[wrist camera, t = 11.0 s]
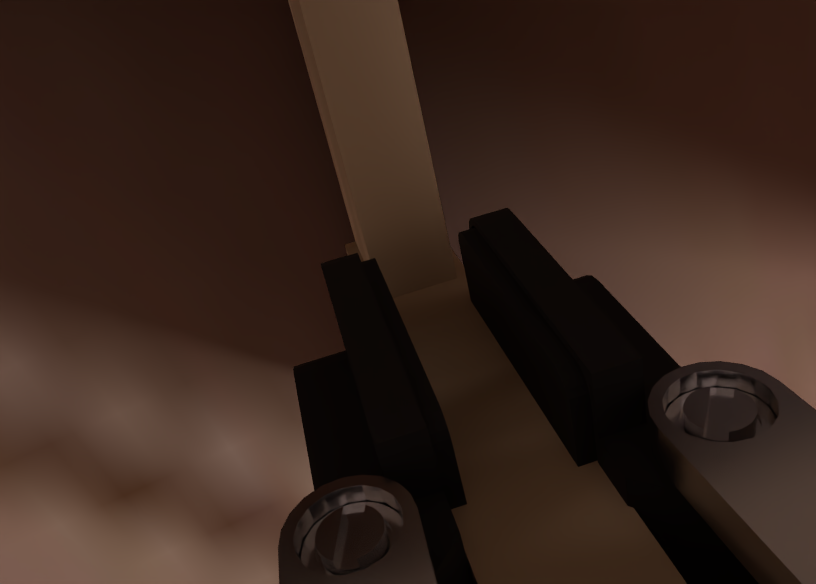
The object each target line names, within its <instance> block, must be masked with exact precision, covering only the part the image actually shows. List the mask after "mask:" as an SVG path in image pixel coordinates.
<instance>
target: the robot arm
mask: <svg viewBox="0 0 816 584" xmlns="http://www.w3.org/2000/svg"><path fill="white" fill-rule="evenodd" d="M458 236H459V244H460V249H461V254H462V259H463V264H464V269H465V274H466V279H467V284H468V289H469V294H470V299H471V302H472V303H473V305H474V306H475V308H476V309H477V311H478V313H479V314H480V316H481V317H482V319H483V320H484V322H485V323H486V325H487V327H488V328H489V330H490V331H491V333H492V334H493V336H494V337H495V339H496V340H497V342H498V344H499V345H500V347H501V348H502V350H503V351H504V353H505V354H506V356H507V358H508V359H509V361H510V362H511V364H512V365H513V367H514V368H515V370H516V372H517V373H518V375H519V376H520V378H521V379H522V381H523V382H524V384H525V385H526V387H527V389H528V390H529V392H530V393H531V395H532V396H533V398H534V399H535V401H536V403H537V404H538V406H539V407H540V409H541V410H542V412H543V413H544V415H545V416H546V418H547V420H548V421H549V423H550V424H551V426H552V427H553V429H554V430H555V432H556V434H557V435H558V437H559V438H560V440H561V441H562V443H563V444H564V446H565V448H566V449H567V451H568V452H569V454H570V455H571V457H572V458H573V460H574V461H575V463H576V465H577V466H578V467H580V466H583V465H586V464H589V463H592V462H595V461H598V463H599V465H600V466H601V468H602V469H603V471H604V472H605V474H606V475H607V477H608V478H609V480H610V481H611V482H612V484H613V485H614V487H615V488H616V490H617V491H618V493H619V494H620V496H621V497H622V499H623V500H624V501H625V503H626V504H627V506H629V507H633V508H634V509H635V511H636V512H637V513H638V515H639V516H640V518H641V519H642V520H643V522H644V523H645V525H646V526H647V528H648V529H649V530H650V532H651V533H652V535H653V536H654V538H655V539H656V540H657V542H658V543H659V545H660V546H661V548H662V549H663V550H664V552H665V553H666V555H667V556H668V557H669V559H670V560H671V562H672V563H673V565H674V566H675V567H676V569H677V570H678V572H679V573H680V575H681V576H682V577H683V579H684V580H685V582H686V583H687V584H816V410H815V409H814V408H813V407H811V406H810V405H809V404H808V403H806V402H805V401H804V400H803V399H801V398H800V397H799V396H798V395H796V394H795V393H794V392H793V391H791V390H790V389H789V388H788V387H786V386H785V385H784V384H783V383H781V382H780V381H779V380H777V379H775V378H774V377H772V376H770V375H769V374H767V373H765V372H764V371H762V370H759V369H756V368H753V367H750V366H747V365H743V364H738V363H730V362H722V361H716V362H699V363H695V364H691V365H687V366H683V367H680V366H679V365H678V364H677V363H676V362H675V361H674V360H673V359H672V358H671V356H670V355H669V354H668V353H667V352H666V351H665V350H664V349H663V348H662V347H661V346H660V345H659V344H658V343H657V342H656V341H655V340H654V339H653V338H652V337H651V335H650V334H649V333H648V332H647V331H646V330H645V329H644V328H643V327H642V326H641V325H640V324H639V323H638V322H637V321H636V320H635V319H634V318H633V317H632V316H631V315H630V313H629V312H628V311H627V310H626V309H625V308H624V307H623V306H622V305H621V304H620V303H619V302H618V301H617V300H616V299H615V298H614V297H613V296H612V295H611V294H610V293H609V291H608V290H607V289H606V288H605V287H604V286H603V285H602V284H601V283H600V282H599V281H598V280H597V279H595V278H594V277H593V276H589V275H586V276H583V277H580V278H577V279H574V280H572V278H571V277H570V276H569V275H568V274H567V273H566V272H565V271H564V269H563V268H562V267H561V266H560V265H559V264H558V263H557V262H556V261H555V259H554V258H553V257H552V256H551V255H550V254H549V253H548V252H547V250H546V249H545V248H544V247H543V246H542V245H541V244H540V243H539V242H538V240H537V239H536V238H535V237H534V236H533V235H532V234H531V233H530V231H529V230H528V229H527V228H526V227H525V226H524V225H523V224H522V223H521V221H520V220H519V219H518V218H517V217H516V216H515V215H514V214H513V212H512V211H511V210H510V209H508V208H504V209H501V210H498V211H494V212H491V213H488V214H484V215H481V216H478V217H474V218H471V219H470V221H469V230H466V231H462V232H459V235H458ZM321 267H322V270H323V274H324V277H325V280H326V284H327V287H328V291H329V294H330V298H331V301H332V304H333V308H334V311H335V315H336V318H337V321H338V325H339V328H340V332H341V335H342V338H343V342H344V345H345V349H346V351H343V352H339V353H336V354H333V355H330V356H326V357H323V358H320V359H317V360H314V361H310V362H307V363H304V364H301V365H298V366H294V368H293V370H294V378H295V383H296V389H297V395H298V400H299V406H300V412H301V417H302V423H303V429H304V434H305V440H306V446H307V451H308V457H309V463H310V468H311V474H312V480H313V485H314V491H313V492H312V493H310V494H309V495H307V496H306V497H304V498H303V499H302V500H301V501H300V503H299V504H298V505H297V506H296V507H295V508H294V509H293V510H292V511H291V512H290V514H289V516H288V517H287V519H286V521H285V523H284V525H283V527H282V529H281V533H280V539H279V545H278V559H279V584H473V581H472V577H471V573H470V570H469V566H468V562H467V558H466V554H465V550H464V546H463V542H462V538H461V534H460V531H459V529H458V526H457V524H456V521H455V518H454V516H453V513H452V511H451V509H454V508H457V507H460V506H463V505H466V504H467V501H466V497H465V493H464V489H463V485H462V481H461V477H460V473H459V469H458V464H457V460H456V456H455V452H454V448H453V444H452V440H451V437H450V433H449V430H448V427H447V424H446V421H445V418H444V415H443V412H442V410H441V407H440V405H439V402H438V400H437V398H436V396H435V393H434V391H433V389H432V386H431V384H430V382H429V380H428V377H427V375H426V373H425V370H424V368H423V366H422V364H421V361H420V359H419V357H418V354H417V352H416V350H415V348H414V345H413V343H412V341H411V338H410V336H409V334H408V332H407V329H406V327H405V325H404V322H403V320H402V318H401V316H400V313H399V311H398V309H397V307H396V304H395V302H394V300H393V297H392V295H391V293H390V291H389V288H388V286H387V284H386V281H385V279H384V277H383V275H382V272H381V270H380V268H379V265H378V263H377V261H376V259H375V258H373V259H370V260H366V261H363V262H361V260H360V257H359V255H358V253H355V254H351V255H348V256H345V257H341V258H338V259H335V260H331V261H328V262H325V263H321Z"/></svg>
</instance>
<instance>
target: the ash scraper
mask: <svg viewBox="0 0 816 584" xmlns="http://www.w3.org/2000/svg"><path fill="white" fill-rule="evenodd" d="M288 2H289V6H290V9H291V13H292V16H293V20H294V23H295V27H296V31H297V34H298V38H299V41H300V45H301V49H302V52H303V56H304V59H305V63H306V66H307V70H308V74H309V77H310V81H311V84H312V88H313V92H314V95H315V99H316V102H317V106H318V109H319V113H320V117H321V120H322V124H323V127H324V131H325V134H326V138H327V142H328V145H329V149H330V152H331V156H332V160H333V163H334V167H335V170H336V174H337V177H338V181H339V185H340V188H341V192H342V195H343V199H344V203H345V206H346V210H347V213H348V217H349V220H350V224H351V228H352V231H353V235H354V238H355V242H352V243H348V244H345V248H346V252H347V255H351V254H355V253H358V255H359V257H360V260H361V262H363V261H366V260H370V259H373V258H375V259H376V261H377V263H378V265H379V268H380V270H381V272H382V275H383V277H384V279H385V281H386V284H387V286H388V288H389V291H390V293H391V295H392V297H393V300H394V302H395V304H396V307H397V309H398V311H399V313H400V316H401V318H402V320H403V322H404V325H405V327H406V329H407V332H408V334H409V336H410V338H411V341H412V343H413V345H414V348H415V350H416V352H417V354H418V357H419V359H420V361H421V364H422V366H423V368H424V370H425V373H426V375H427V377H428V380H429V382H430V384H431V386H432V389H433V391H434V393H435V396H436V398H437V400H438V402H439V405H440V407H441V410H442V412H443V415H444V418H445V421H446V424H447V427H448V430H449V433H450V437H451V440H452V444H453V448H454V452H455V456H456V460H457V464H458V469H459V473H460V477H461V481H462V485H463V489H464V493H465V497H466V501H467V504H466V505H463V506H460V507H457V508H454V509H451V511H452V513H453V516H454V518H455V521H456V524H457V526H458V529H459V531H460V534H461V538H462V542H463V546H464V550H465V554H466V558H467V562H468V566H469V570H470V573H471V577H472V581H473V584H687V583H686V582H685V580H684V579H683V577H682V576H681V575H680V573H679V572H678V570H677V569H676V567H675V566H674V565H673V563H672V562H671V560H670V559H669V557H668V556H667V555H666V553H665V552H664V550H663V549H662V548H661V546H660V545H659V543H658V542H657V540H656V539H655V538H654V536H653V535H652V533H651V532H650V530H649V529H648V528H647V526H646V525H645V523H644V522H643V520H642V519H641V518H640V516H639V515H638V513H637V512H636V511H635V509H634V508H633V507H629V506H627V504H626V503H625V501H624V500H623V499H622V497H621V496H620V494H619V493H618V491H617V490H616V488H615V487H614V485H613V484H612V482H611V481H610V480H609V478H608V477H607V475H606V474H605V472H604V471H603V469H602V468H601V466H600V465H599V463H598V461H595V462H592V463H589V464H586V465H583V466H580V467H578V466H577V465H576V463H575V461H574V460H573V458H572V457H571V455H570V454H569V452H568V451H567V449H566V448H565V446H564V444H563V443H562V441H561V440H560V438H559V437H558V435H557V434H556V432H555V430H554V429H553V427H552V426H551V424H550V423H549V421H548V420H547V418H546V416H545V415H544V413H543V412H542V410H541V409H540V407H539V406H538V404H537V403H536V401H535V399H534V398H533V396H532V395H531V393H530V392H529V390H528V389H527V387H526V385H525V384H524V382H523V381H522V379H521V378H520V376H519V375H518V373H517V372H516V370H515V368H514V367H513V365H512V364H511V362H510V361H509V359H508V358H507V356H506V354H505V353H504V351H503V350H502V348H501V347H500V345H499V344H498V342H497V340H496V339H495V337H494V336H493V334H492V333H491V331H490V330H489V328H488V327H487V325H486V323H485V322H484V320H483V319H482V317H481V316H480V314H479V313H478V311H477V309H476V308H475V306H474V305H473V303H472V302H471V299H470V294H469V289H468V284H467V279H466V274H465V269H464V266H463V264H462V263H461V262H460V260H459V259H458V257H457V256H456V254H455V253H454V252H453V250H452V249H451V247H450V243H449V238H448V233H447V229H446V224H445V219H444V215H443V210H442V205H441V201H440V196H439V191H438V187H437V182H436V177H435V173H434V168H433V163H432V159H431V154H430V149H429V145H428V140H427V135H426V131H425V126H424V121H423V117H422V112H421V107H420V103H419V98H418V93H417V89H416V84H415V79H414V75H413V70H412V65H411V60H410V56H409V51H408V46H407V42H406V37H405V32H404V28H403V23H402V18H401V14H400V9H399V4H398V0H288Z"/></svg>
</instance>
